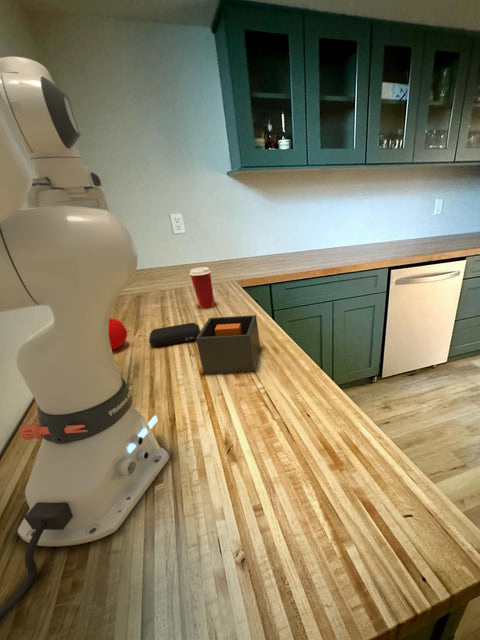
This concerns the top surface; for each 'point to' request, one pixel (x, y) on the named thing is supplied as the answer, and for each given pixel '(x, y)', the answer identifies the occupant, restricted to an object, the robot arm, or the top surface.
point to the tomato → (116, 333)
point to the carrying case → (174, 334)
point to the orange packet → (228, 329)
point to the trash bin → (229, 346)
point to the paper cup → (203, 286)
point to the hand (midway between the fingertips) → (89, 255)
